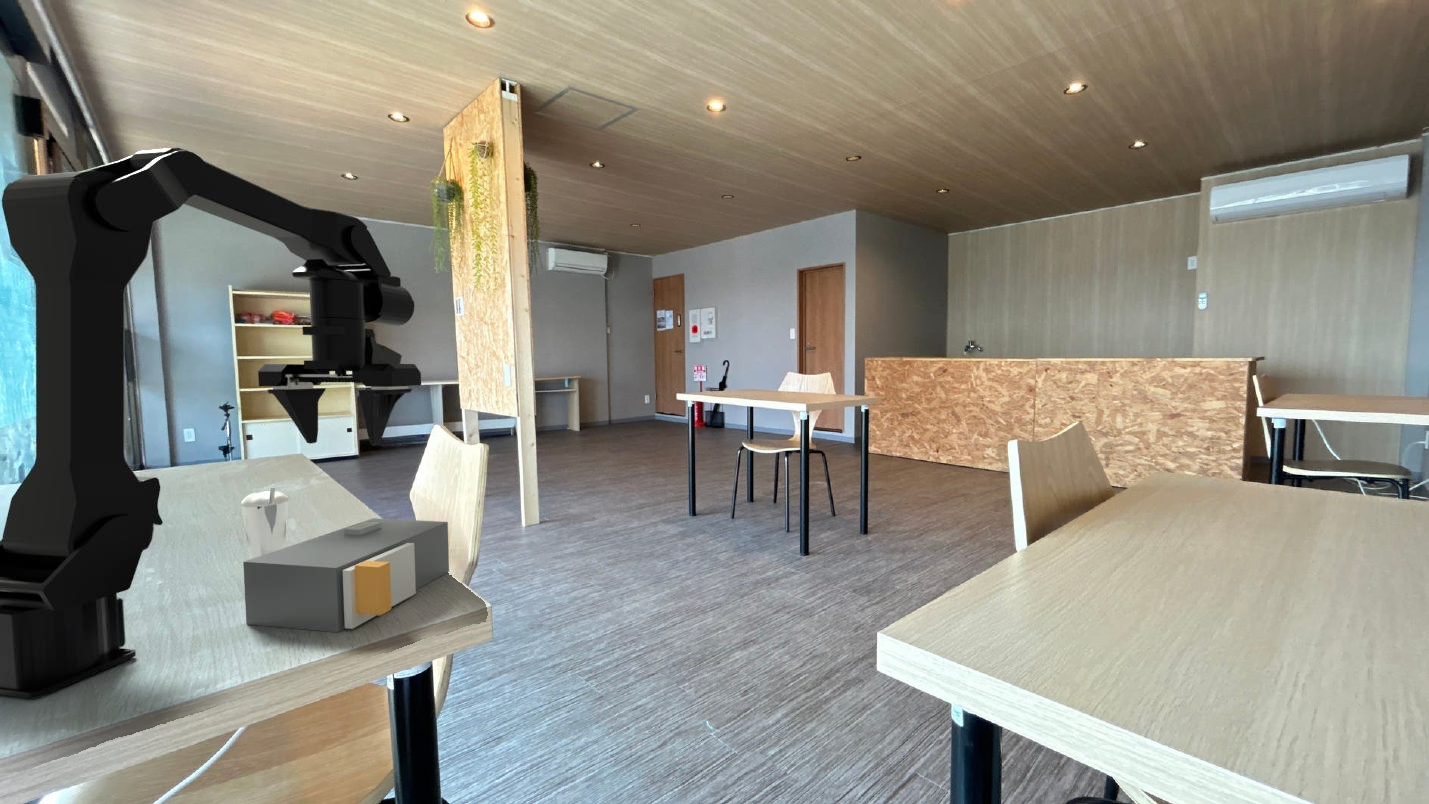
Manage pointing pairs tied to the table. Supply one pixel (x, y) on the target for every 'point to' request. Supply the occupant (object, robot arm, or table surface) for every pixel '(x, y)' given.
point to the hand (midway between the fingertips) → (343, 443)
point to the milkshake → (265, 522)
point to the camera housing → (334, 571)
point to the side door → (378, 584)
